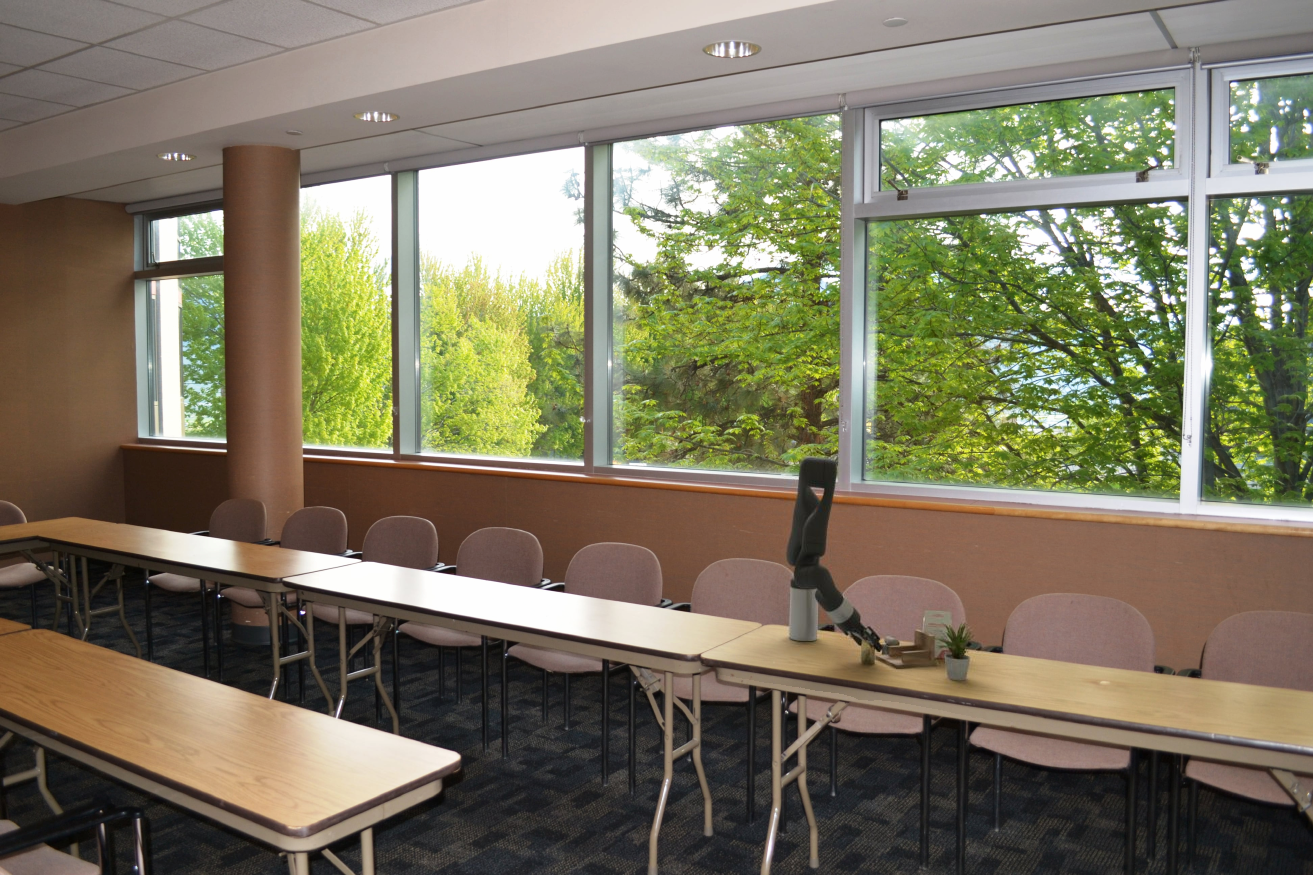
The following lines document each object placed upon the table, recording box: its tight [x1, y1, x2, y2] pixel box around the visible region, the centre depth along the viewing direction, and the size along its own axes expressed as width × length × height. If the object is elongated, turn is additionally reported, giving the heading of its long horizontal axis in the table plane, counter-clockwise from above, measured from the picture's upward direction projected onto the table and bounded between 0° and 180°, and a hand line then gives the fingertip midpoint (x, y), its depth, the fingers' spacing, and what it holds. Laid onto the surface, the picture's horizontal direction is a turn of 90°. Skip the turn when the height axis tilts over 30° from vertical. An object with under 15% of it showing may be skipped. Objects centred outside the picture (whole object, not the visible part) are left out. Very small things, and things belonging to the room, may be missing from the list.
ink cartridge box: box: [922, 610, 953, 660], centre depth 303 cm, size 9×5×15 cm, turn 76°
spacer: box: [860, 635, 876, 666], centre depth 295 cm, size 4×4×10 cm
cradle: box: [875, 628, 938, 669], centre depth 299 cm, size 16×14×8 cm
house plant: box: [931, 621, 980, 681], centre depth 281 cm, size 14×14×16 cm
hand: (871, 646), depth 295 cm, fingers open, 8 cm apart
